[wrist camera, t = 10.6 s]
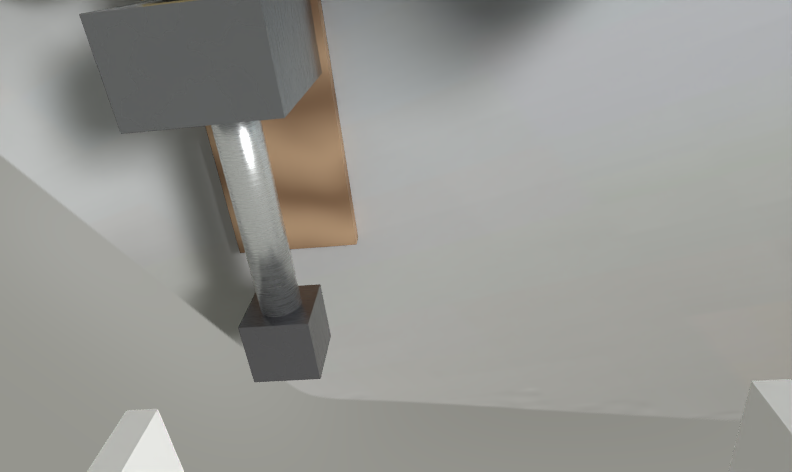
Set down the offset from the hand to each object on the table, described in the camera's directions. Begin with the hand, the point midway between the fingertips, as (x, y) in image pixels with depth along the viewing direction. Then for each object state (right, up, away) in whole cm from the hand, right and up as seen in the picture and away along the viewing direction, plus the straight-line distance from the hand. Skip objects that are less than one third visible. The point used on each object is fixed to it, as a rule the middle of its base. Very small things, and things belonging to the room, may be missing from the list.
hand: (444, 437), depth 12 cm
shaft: (-10, +7, +26) cm, 29 cm away
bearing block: (-11, +19, +25) cm, 33 cm away
